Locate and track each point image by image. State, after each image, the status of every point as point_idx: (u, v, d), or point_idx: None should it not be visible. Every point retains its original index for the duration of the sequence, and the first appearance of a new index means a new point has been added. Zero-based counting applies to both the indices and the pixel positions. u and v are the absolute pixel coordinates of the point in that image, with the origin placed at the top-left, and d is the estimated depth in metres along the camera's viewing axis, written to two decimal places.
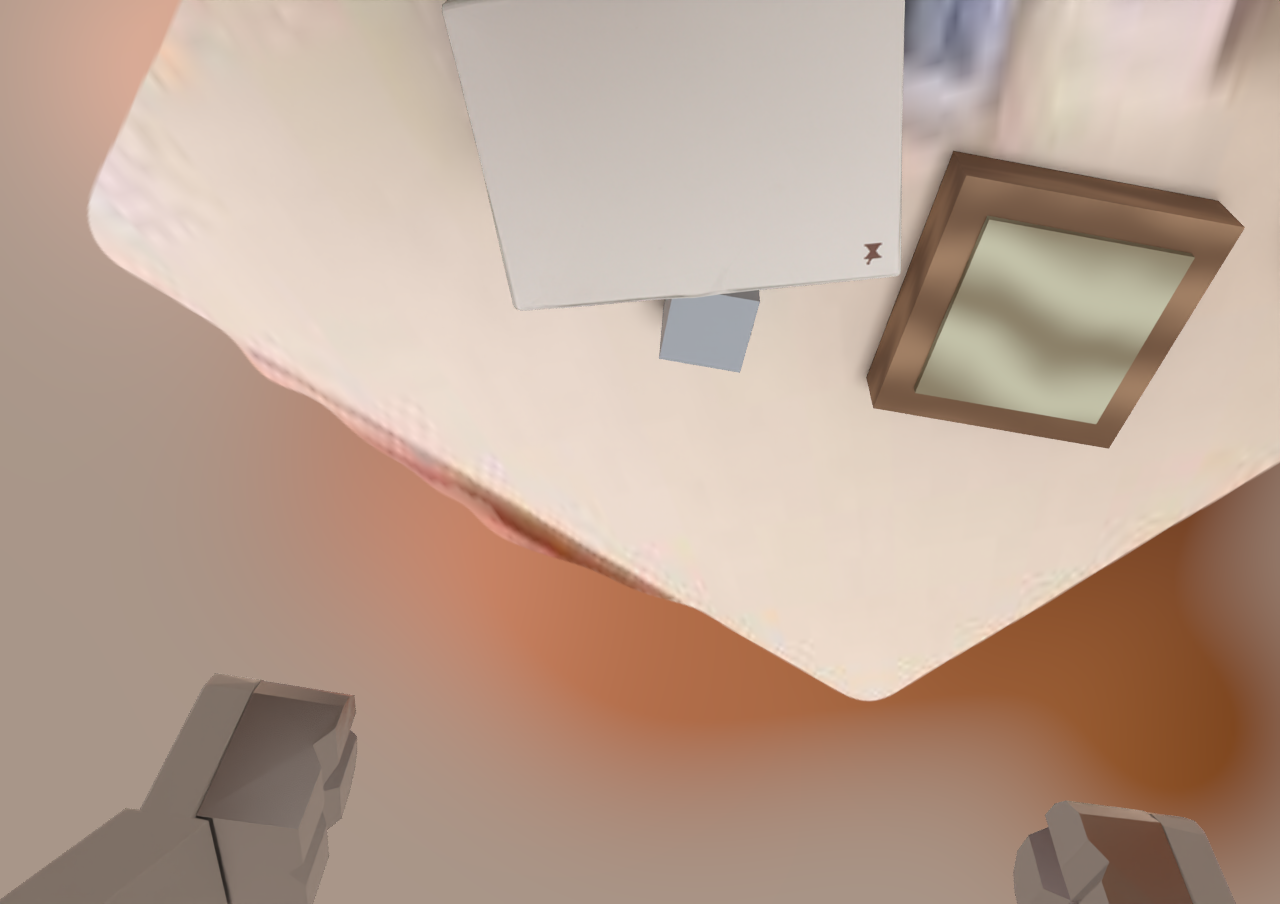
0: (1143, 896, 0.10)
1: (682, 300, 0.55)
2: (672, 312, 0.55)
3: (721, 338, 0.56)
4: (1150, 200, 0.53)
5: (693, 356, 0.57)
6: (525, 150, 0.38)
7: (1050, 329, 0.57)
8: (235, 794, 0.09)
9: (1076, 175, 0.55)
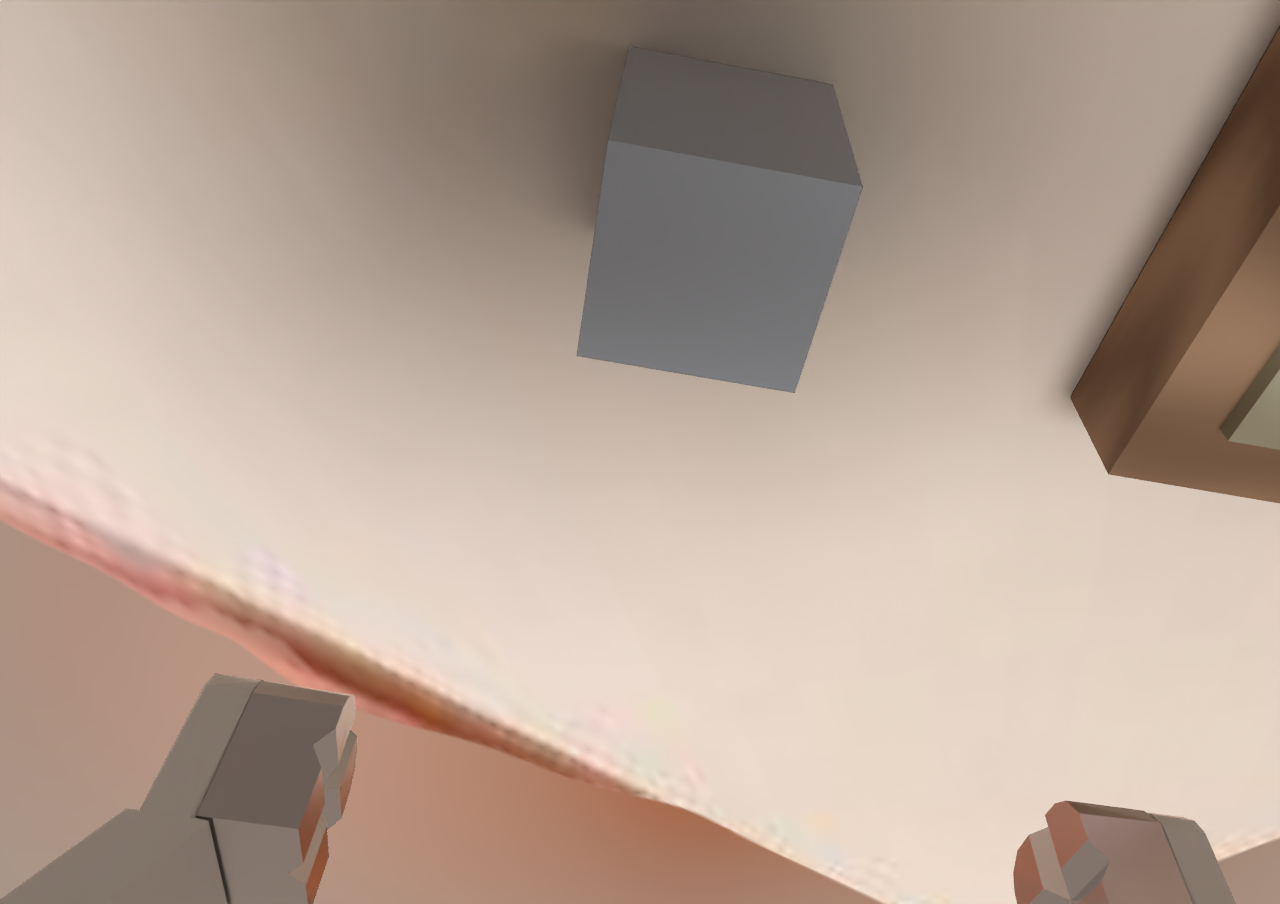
0: (1143, 896, 0.10)
1: (634, 183, 0.19)
2: (604, 223, 0.19)
3: (746, 299, 0.20)
4: None
5: (669, 350, 0.21)
6: None
7: None
8: (236, 795, 0.09)
9: None
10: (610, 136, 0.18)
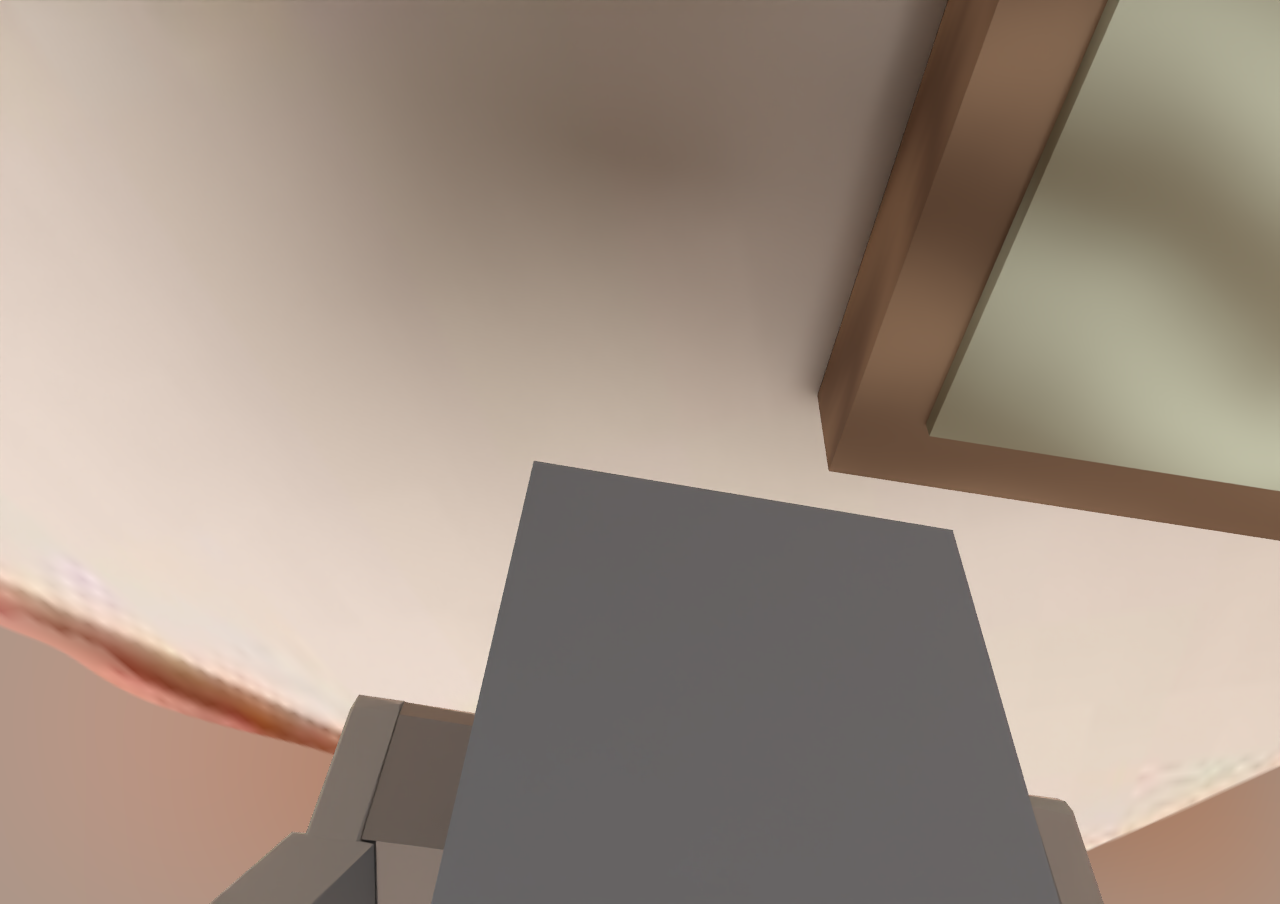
0: None
1: None
2: None
3: None
4: None
5: None
6: None
7: None
8: (397, 817, 0.09)
9: None
10: None
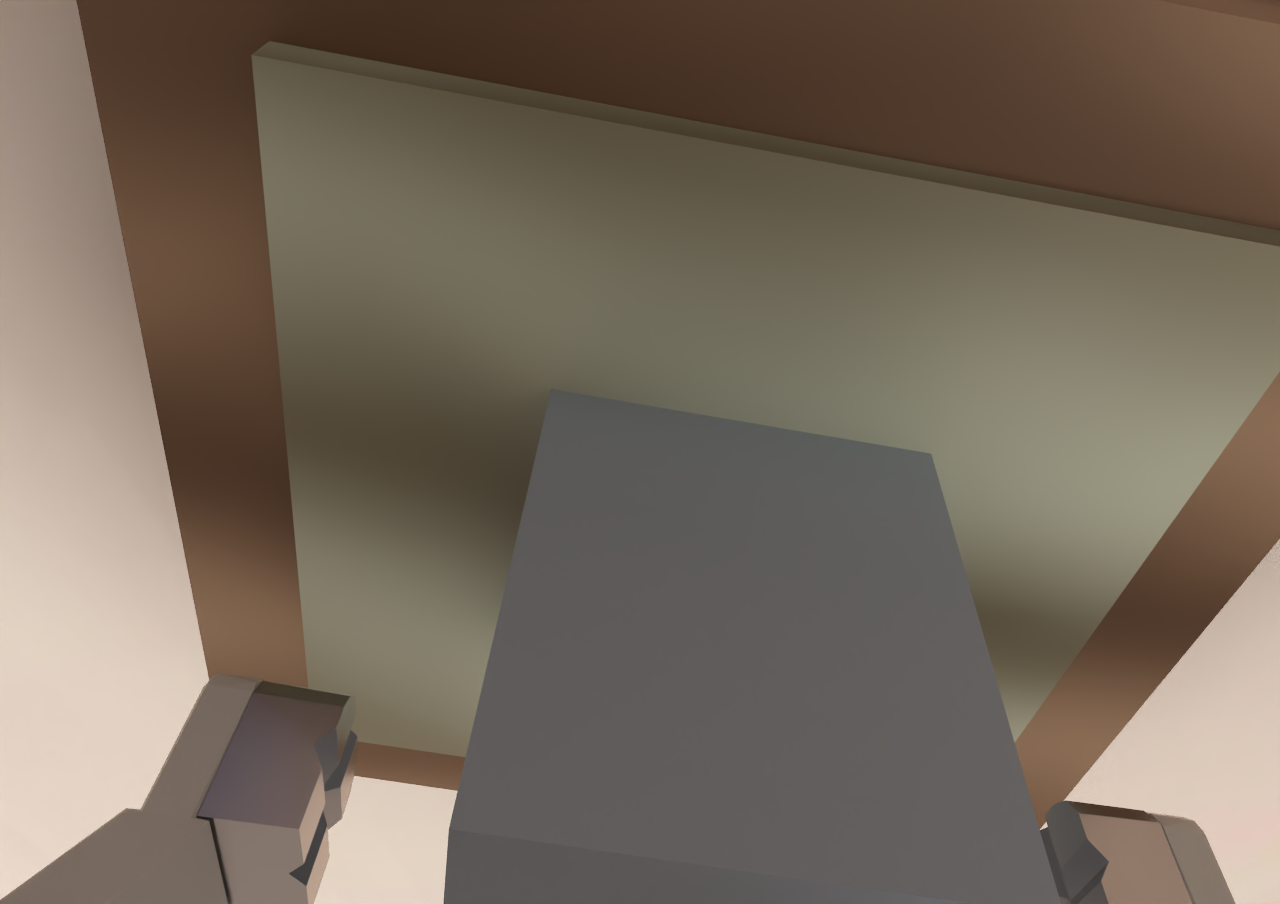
0: (1142, 896, 0.10)
1: (522, 888, 0.08)
2: None
3: None
4: None
5: None
6: None
7: None
8: (235, 795, 0.09)
9: None
10: (458, 806, 0.08)
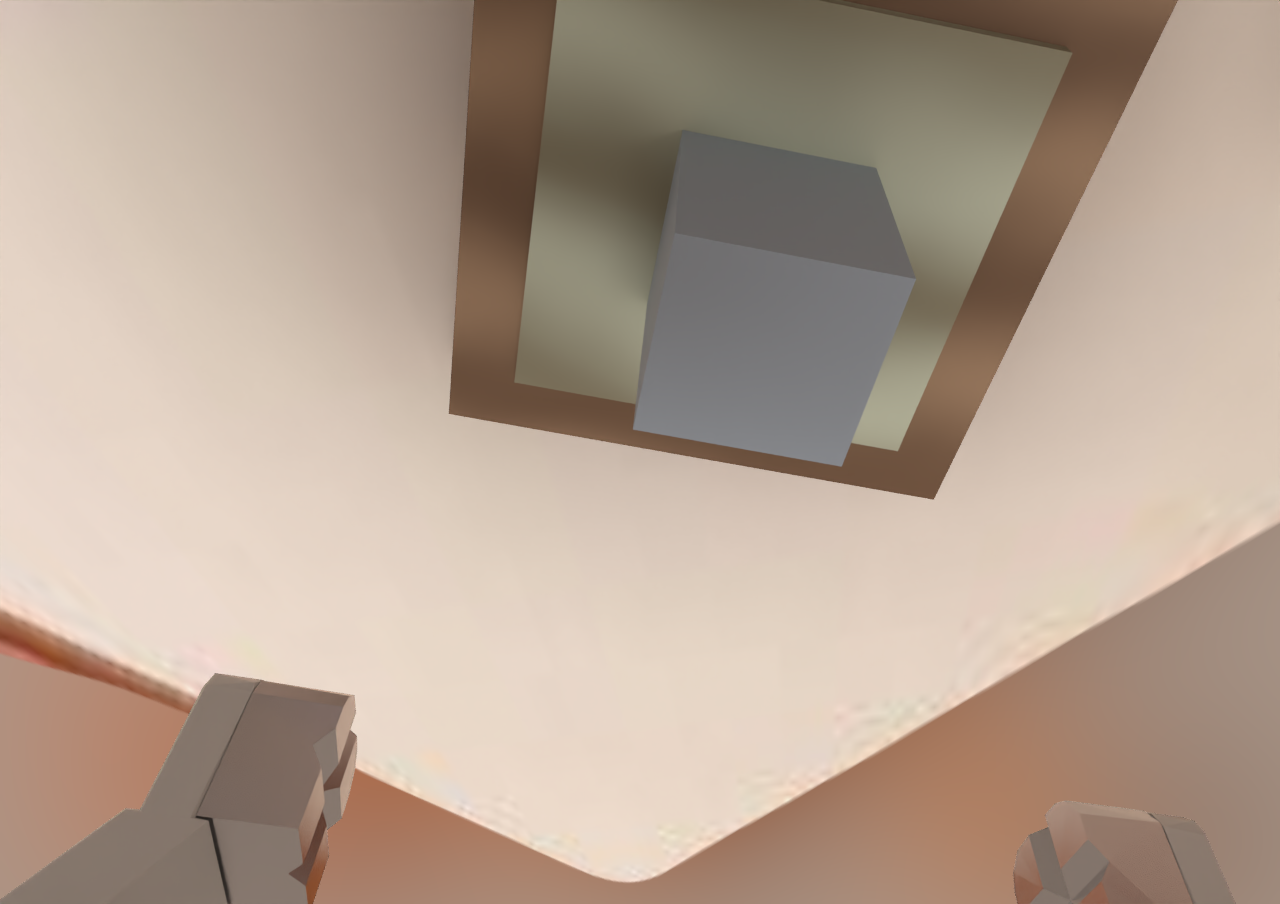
0: (1143, 896, 0.10)
1: (698, 273, 0.19)
2: (666, 308, 0.20)
3: (799, 379, 0.21)
4: None
5: (722, 425, 0.22)
6: None
7: None
8: (236, 795, 0.09)
9: None
10: (676, 229, 0.19)
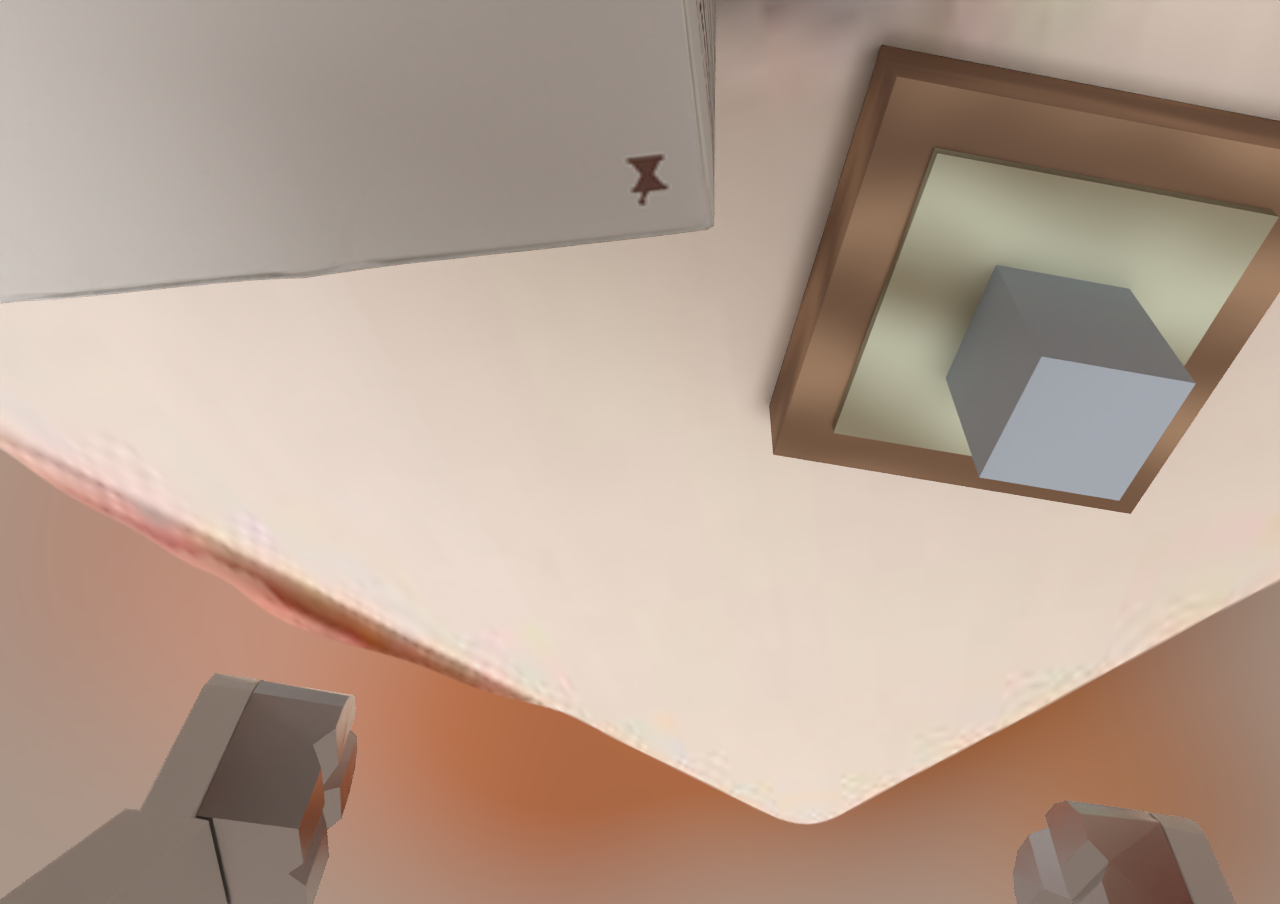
0: (1143, 896, 0.10)
1: (1050, 380, 0.30)
2: (1024, 401, 0.30)
3: (1103, 445, 0.31)
4: (1205, 122, 0.32)
5: (1042, 474, 0.32)
6: None
7: None
8: (236, 794, 0.09)
9: (1081, 84, 0.34)
10: (1040, 353, 0.29)
